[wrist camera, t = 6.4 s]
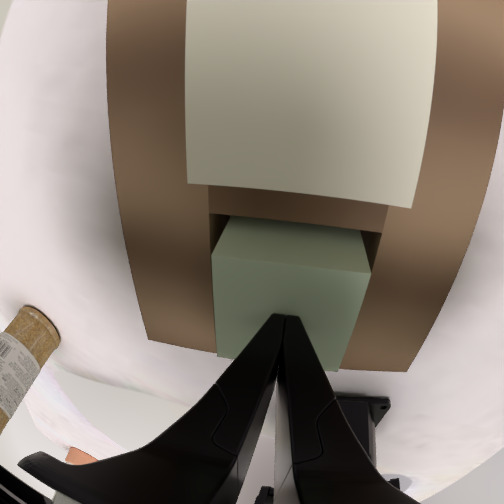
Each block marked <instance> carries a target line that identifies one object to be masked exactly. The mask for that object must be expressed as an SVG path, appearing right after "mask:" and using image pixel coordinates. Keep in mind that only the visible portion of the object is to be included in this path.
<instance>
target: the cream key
mask: <svg viewBox="0 0 504 504" xmlns="http://www.w3.org/2000/svg"><path fill="white" fill-rule="evenodd" d="M436 47H437V0H187V9H186V39H185V128H186V160H187V183H188V184H204V185H218V186H232V187H244V188H255V189H266V190H276V191H286V192H295V193H304V194H313V195H321V196H329V197H337V198H344V199H352V200H359V201H366V202H373V203H379V204H386V205H392V206H398V207H404V208H410V209H411V207H412V203H413V199H414V195H415V191H416V186H417V182H418V177H419V173H420V168H421V163H422V158H423V153H424V147H425V142H426V136H427V130H428V124H429V117H430V110H431V102H432V94H433V85H434V75H435V63H436Z"/></svg>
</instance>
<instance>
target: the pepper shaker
mask: <svg viewBox="0 0 504 504" xmlns="http://www.w3.org/2000/svg"><path fill="white" fill-rule="evenodd" d="M65 461H66V464H72V465H82V464H88V463H92V462H96V461H98V460H96V459H95V458H93V457H92V456H90V455H88V454H86V453H85V452H83V451H81V450H79V449H76V448H74V447H71V448H70V450H69V452H68V455H67V457H66V459H65ZM55 493H56V491H55ZM54 496H55V494H54ZM54 496H53V498H54ZM53 498H52V500H53Z"/></svg>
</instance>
